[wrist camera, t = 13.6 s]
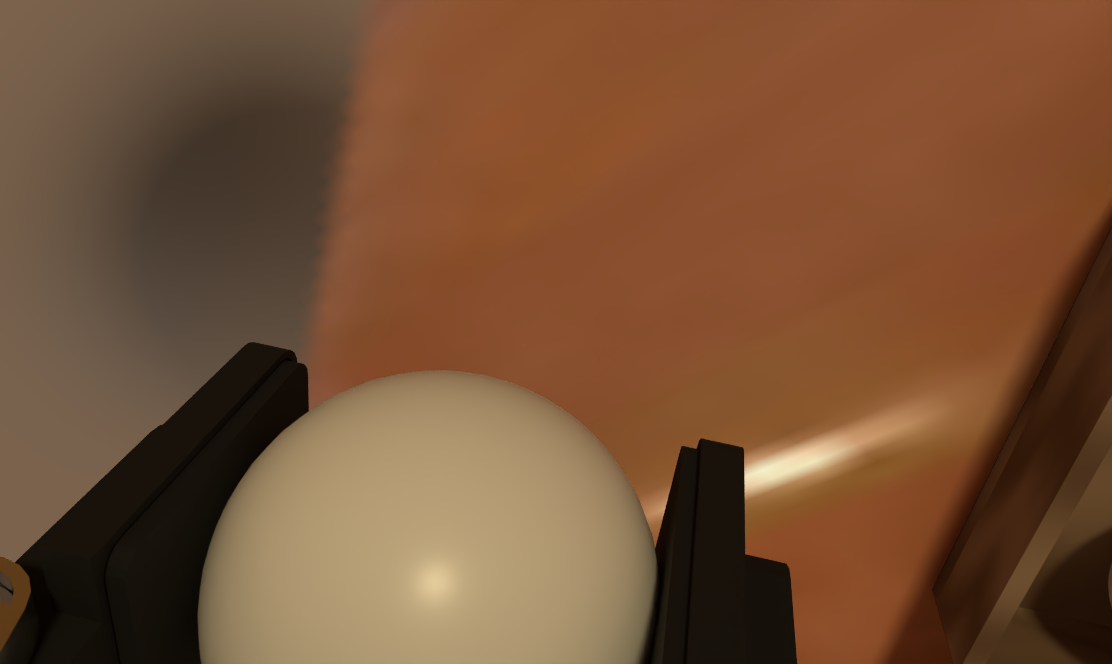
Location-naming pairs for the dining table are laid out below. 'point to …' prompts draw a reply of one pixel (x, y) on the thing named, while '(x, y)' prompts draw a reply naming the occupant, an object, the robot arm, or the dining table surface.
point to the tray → (1045, 512)
